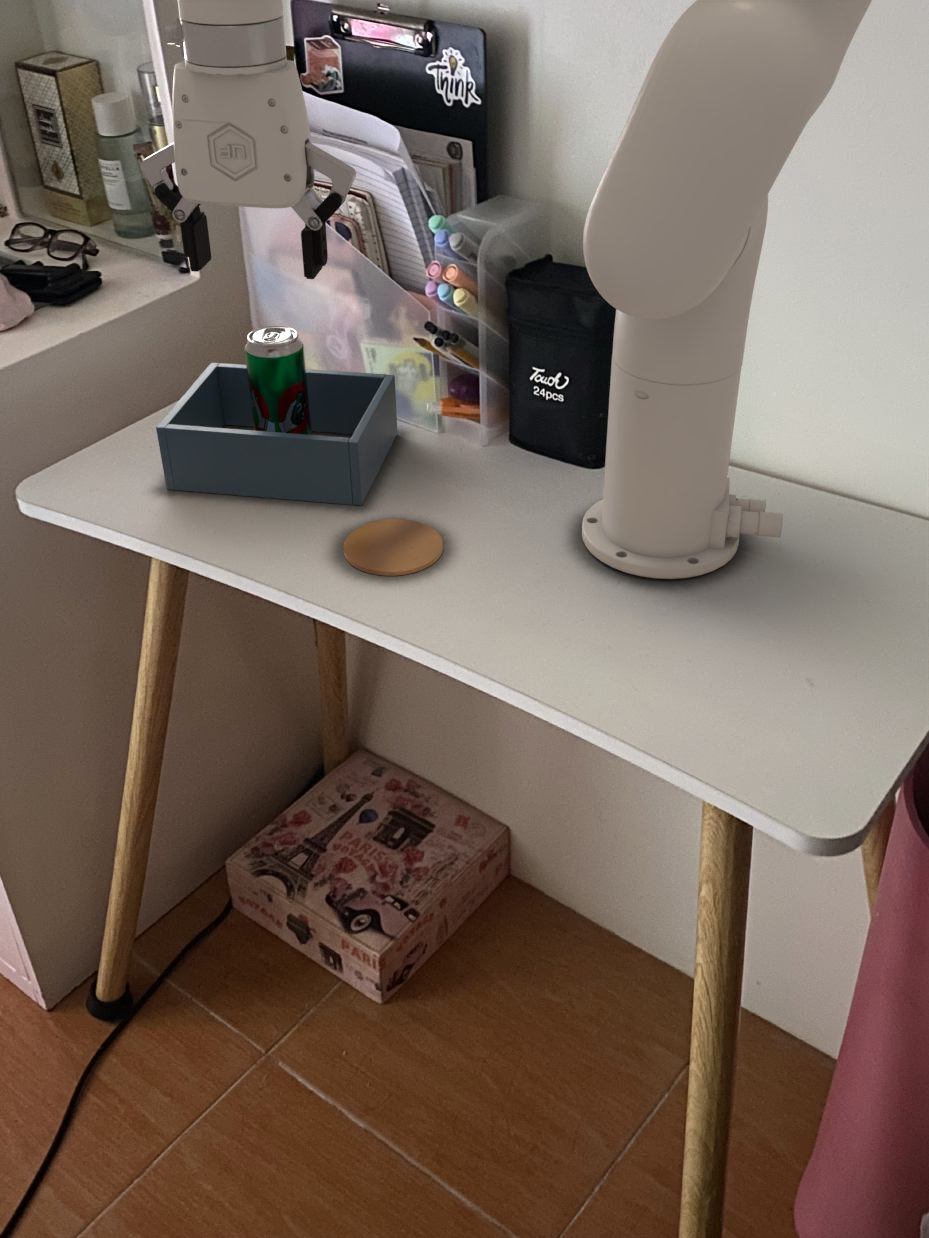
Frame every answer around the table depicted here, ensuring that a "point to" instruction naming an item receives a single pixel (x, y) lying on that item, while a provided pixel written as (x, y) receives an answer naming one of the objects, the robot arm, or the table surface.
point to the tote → (280, 438)
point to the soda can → (278, 380)
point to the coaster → (393, 547)
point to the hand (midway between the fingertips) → (257, 269)
